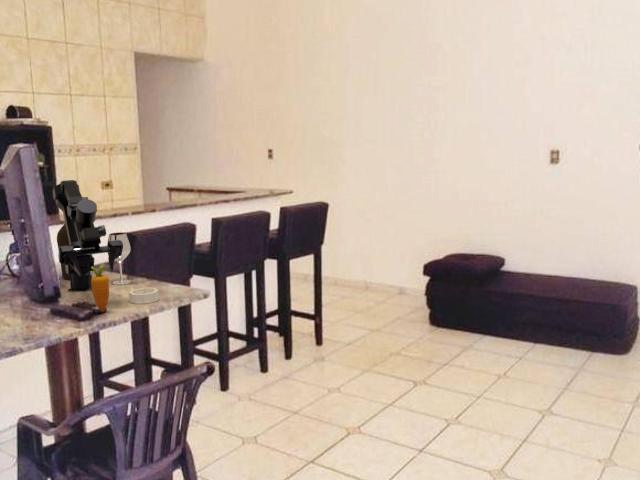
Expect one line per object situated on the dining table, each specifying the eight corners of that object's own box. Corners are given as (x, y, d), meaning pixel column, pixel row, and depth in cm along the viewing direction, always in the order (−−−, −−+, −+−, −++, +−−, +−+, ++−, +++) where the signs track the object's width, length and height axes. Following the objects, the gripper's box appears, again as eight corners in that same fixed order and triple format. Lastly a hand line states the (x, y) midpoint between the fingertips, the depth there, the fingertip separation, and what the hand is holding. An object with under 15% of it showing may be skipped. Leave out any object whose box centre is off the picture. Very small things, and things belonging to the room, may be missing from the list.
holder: (125, 303, 196) (124, 294, 196) (137, 296, 205) (136, 287, 204) (151, 304, 195) (151, 295, 194) (163, 296, 203) (162, 287, 203)
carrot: (94, 315, 184) (90, 266, 181) (93, 311, 189) (89, 263, 186) (112, 313, 186) (107, 264, 183) (110, 309, 190) (106, 261, 188)
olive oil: (69, 282, 227) (62, 214, 223) (55, 278, 234) (48, 212, 230) (96, 276, 235) (90, 211, 230) (82, 272, 242) (76, 209, 237)
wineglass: (126, 285, 219) (122, 235, 216) (105, 285, 221) (100, 235, 218) (137, 280, 227) (133, 231, 224) (117, 279, 229) (113, 231, 226)
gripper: (55, 220, 186) (65, 262, 178) (119, 214, 195) (130, 254, 187) (54, 242, 194) (63, 283, 186) (115, 236, 203) (126, 274, 195)
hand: (96, 273), depth 188 cm, fingers open, 9 cm apart
